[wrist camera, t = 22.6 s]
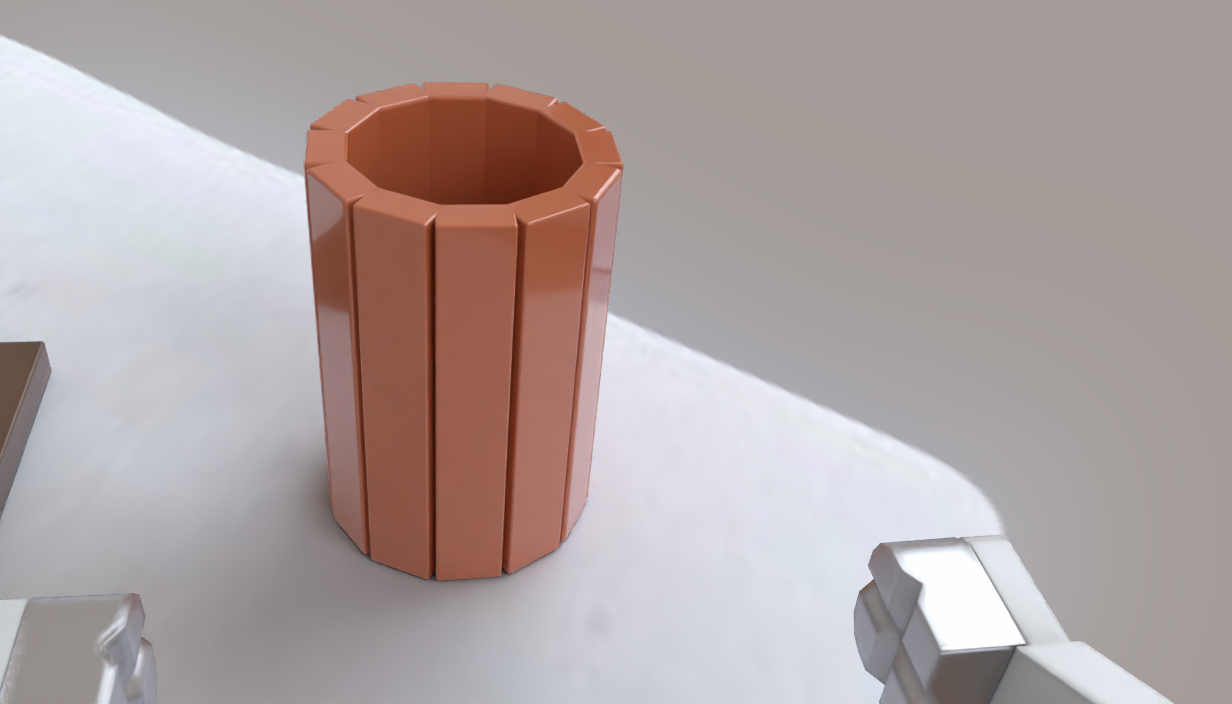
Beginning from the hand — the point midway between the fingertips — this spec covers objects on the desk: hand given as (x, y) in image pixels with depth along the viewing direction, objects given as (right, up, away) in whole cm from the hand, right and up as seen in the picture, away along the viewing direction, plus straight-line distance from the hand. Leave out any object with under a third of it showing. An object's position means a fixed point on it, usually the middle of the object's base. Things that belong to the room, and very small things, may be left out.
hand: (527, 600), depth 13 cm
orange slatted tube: (-3, 0, +15) cm, 15 cm away
